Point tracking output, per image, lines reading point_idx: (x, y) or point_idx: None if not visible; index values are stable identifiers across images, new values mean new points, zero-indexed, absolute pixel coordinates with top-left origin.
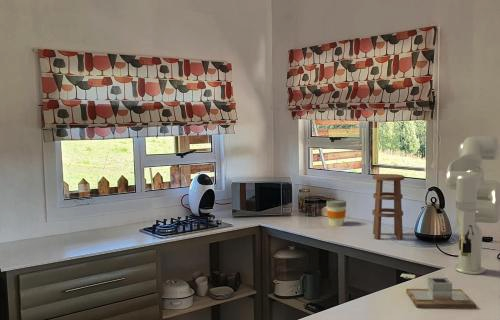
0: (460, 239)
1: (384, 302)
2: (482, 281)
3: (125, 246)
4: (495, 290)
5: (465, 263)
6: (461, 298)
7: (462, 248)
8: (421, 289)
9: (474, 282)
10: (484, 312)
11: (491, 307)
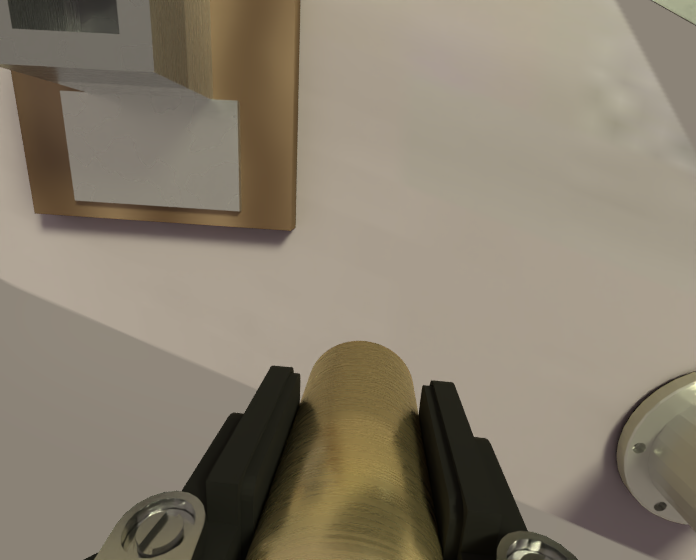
0: (496, 551)
1: None
2: (490, 425)
3: None
4: None
5: None
6: (96, 158)
7: (316, 406)
8: None
9: (478, 378)
10: (4, 233)
11: (83, 298)
